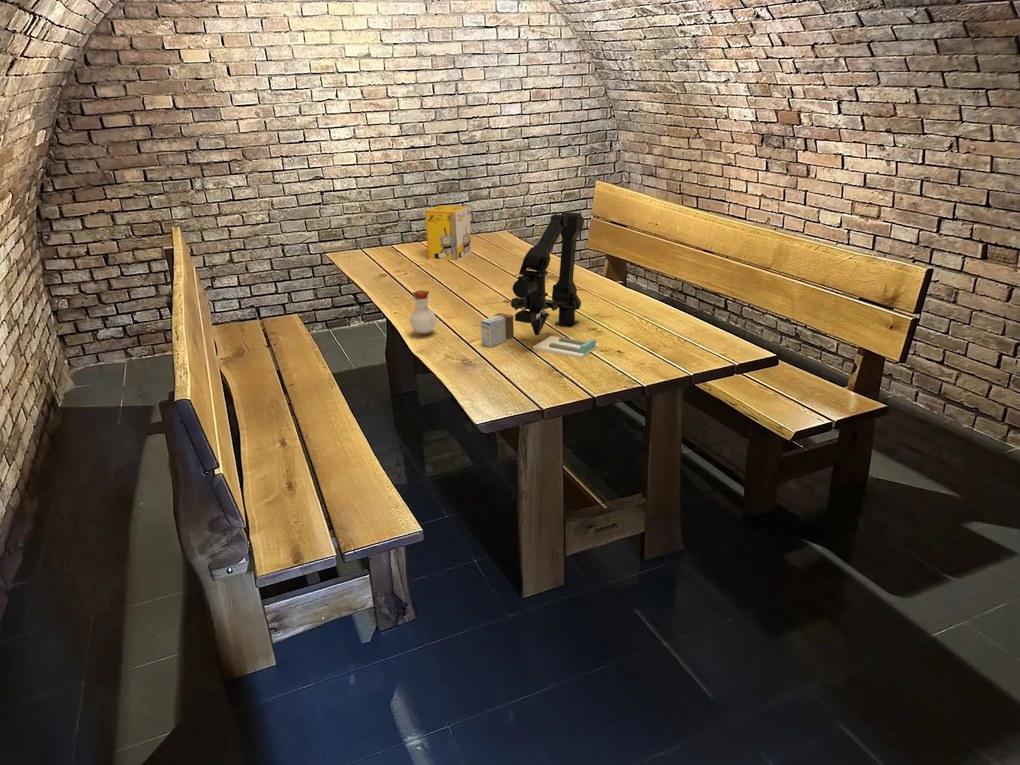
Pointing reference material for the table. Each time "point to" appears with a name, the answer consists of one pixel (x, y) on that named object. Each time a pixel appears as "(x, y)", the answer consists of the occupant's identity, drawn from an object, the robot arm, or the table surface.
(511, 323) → the panel
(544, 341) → the rail board
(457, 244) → the packaging box
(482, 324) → the medicine box
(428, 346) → the table surface
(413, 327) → the potion bottle
